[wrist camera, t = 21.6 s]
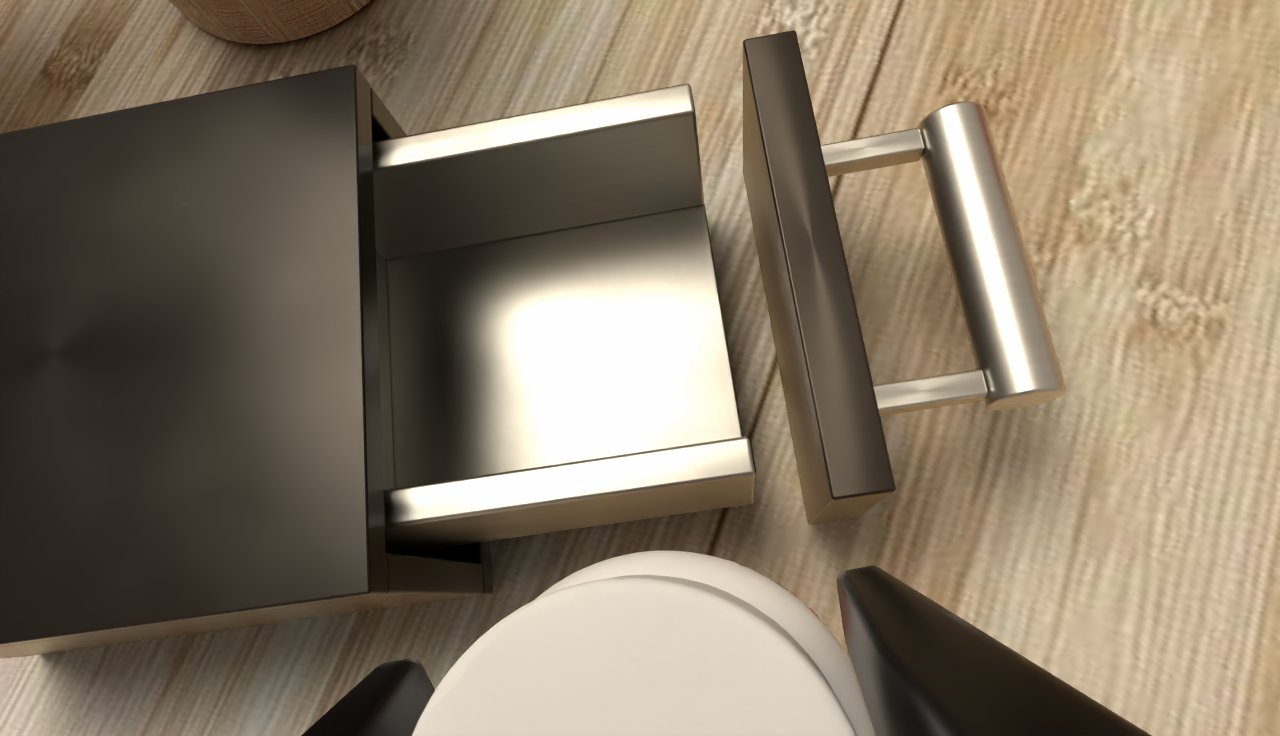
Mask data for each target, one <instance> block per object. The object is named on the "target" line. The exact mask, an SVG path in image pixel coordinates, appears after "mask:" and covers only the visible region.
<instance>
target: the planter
mask: <svg viewBox="0 0 1280 736" xmlns="http://www.w3.org/2000/svg"><path fill="white" fill-rule="evenodd" d="M168 1H170V2H171V3H172V4H173V5H174V6H175V7H176V8H177V9H178V10H179V11H180V12H181V13H182V14H184V15H185V16H186V17H187V18H188V19H189V20H190V21H191V22H193V23H194V24H195V25H196V26H198V27H199V28H201V29H203V30H204V31H206V32H208V33H210V34H213V35H215V36H218V37H220V38H223V39H226V40H230V41H235V42H241V43H251V44H271V43H280V42H286V41H291V40H295V39H300V38H303V37H307V36H310V35H313V34H315V33H318V32H321V31H323V30H325V29H327V28H329V27H332V26H334V25H335V24H337V23H339V22H341V21H343V20H345V19H346V18H348V17H350V16H351V15H353V14H354V13H355V12H357V11H358V10H360V9H361V8H362V7H364V6H365V5H366V4H367V3H369V2H370V1H371V0H168Z"/></svg>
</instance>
